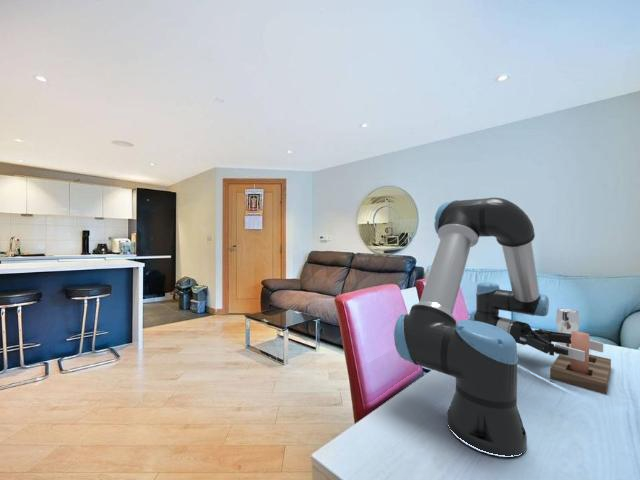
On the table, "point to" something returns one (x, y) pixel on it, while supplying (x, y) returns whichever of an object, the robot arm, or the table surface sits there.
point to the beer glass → (567, 322)
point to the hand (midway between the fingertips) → (594, 352)
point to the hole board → (592, 381)
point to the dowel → (581, 343)
